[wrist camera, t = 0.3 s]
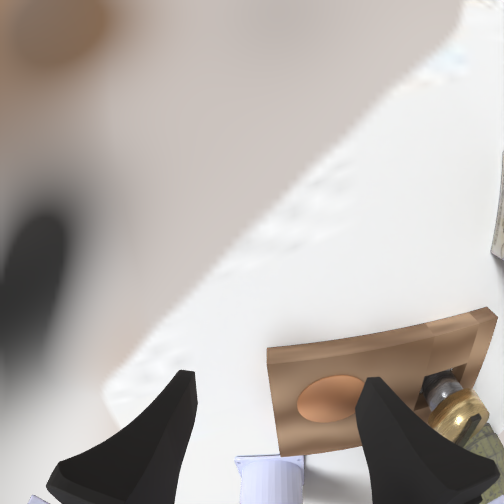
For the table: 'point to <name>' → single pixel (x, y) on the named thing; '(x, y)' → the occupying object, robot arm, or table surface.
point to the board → (367, 365)
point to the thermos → (493, 449)
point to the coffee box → (499, 224)
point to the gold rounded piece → (453, 407)
